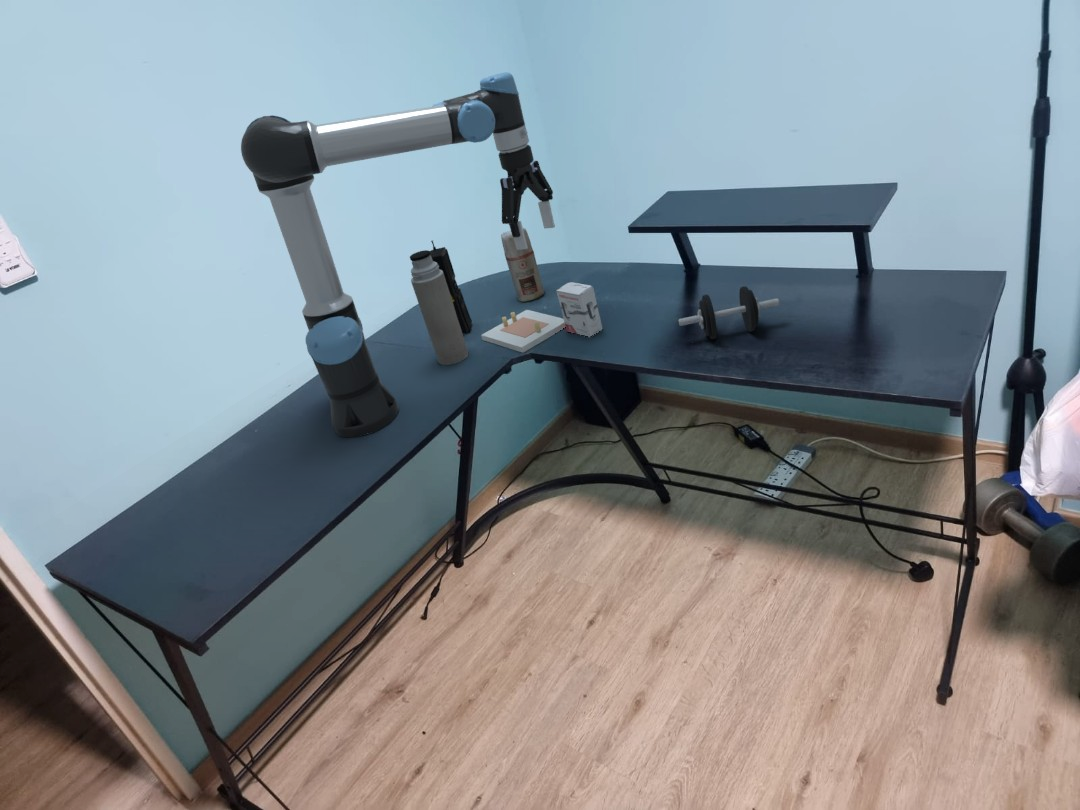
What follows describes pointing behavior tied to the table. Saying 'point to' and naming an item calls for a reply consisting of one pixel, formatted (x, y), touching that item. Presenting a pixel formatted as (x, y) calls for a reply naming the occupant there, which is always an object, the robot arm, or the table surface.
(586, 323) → the ink box
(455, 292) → the portable radio
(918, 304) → the table surface
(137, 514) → the table surface
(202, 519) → the table surface
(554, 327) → the pin plate
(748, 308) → the dumbbell
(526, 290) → the spray can
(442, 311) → the thermos bottle
